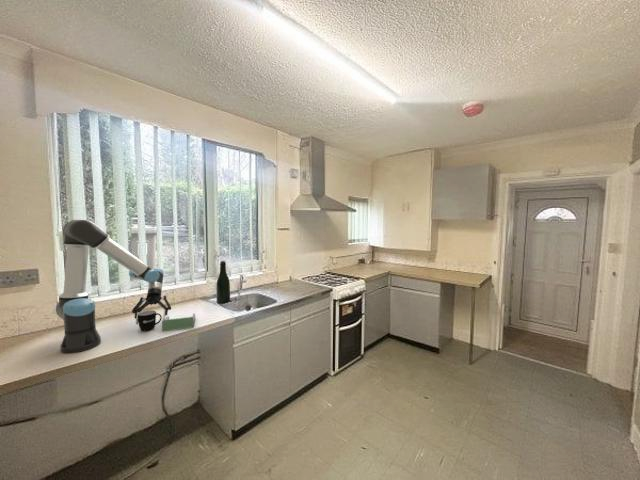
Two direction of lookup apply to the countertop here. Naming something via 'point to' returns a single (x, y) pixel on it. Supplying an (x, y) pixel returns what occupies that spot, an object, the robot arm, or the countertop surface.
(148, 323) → the mug
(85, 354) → the countertop surface
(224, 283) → the beer bottle
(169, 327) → the block
